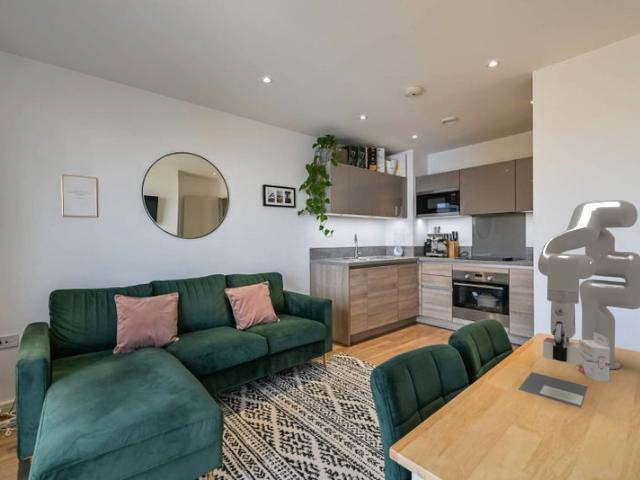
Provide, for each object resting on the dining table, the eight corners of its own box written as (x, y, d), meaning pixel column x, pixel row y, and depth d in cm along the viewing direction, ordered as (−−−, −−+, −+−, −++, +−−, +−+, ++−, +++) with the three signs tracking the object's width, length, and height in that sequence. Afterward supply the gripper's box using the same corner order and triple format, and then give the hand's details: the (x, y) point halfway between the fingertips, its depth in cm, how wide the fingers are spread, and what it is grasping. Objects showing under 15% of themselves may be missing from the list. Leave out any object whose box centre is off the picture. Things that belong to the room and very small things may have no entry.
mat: (531, 373, 111) (531, 371, 111) (587, 388, 100) (587, 385, 100) (518, 391, 98) (518, 388, 98) (580, 410, 88) (580, 407, 88)
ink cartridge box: (577, 371, 113) (577, 330, 113) (593, 373, 112) (594, 331, 112) (592, 382, 105) (593, 337, 104) (610, 384, 104) (611, 338, 103)
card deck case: (579, 360, 93) (579, 343, 93) (577, 365, 90) (577, 347, 90) (546, 353, 99) (546, 337, 99) (543, 357, 95) (543, 340, 95)
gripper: (574, 302, 86) (573, 369, 86) (582, 295, 98) (581, 354, 98) (541, 298, 91) (540, 361, 91) (552, 292, 103) (551, 348, 103)
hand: (561, 357), depth 94 cm, fingers closed on card deck case, 5 cm apart
